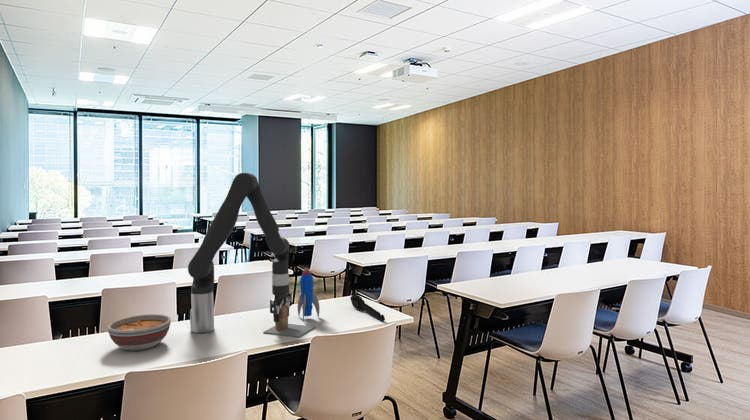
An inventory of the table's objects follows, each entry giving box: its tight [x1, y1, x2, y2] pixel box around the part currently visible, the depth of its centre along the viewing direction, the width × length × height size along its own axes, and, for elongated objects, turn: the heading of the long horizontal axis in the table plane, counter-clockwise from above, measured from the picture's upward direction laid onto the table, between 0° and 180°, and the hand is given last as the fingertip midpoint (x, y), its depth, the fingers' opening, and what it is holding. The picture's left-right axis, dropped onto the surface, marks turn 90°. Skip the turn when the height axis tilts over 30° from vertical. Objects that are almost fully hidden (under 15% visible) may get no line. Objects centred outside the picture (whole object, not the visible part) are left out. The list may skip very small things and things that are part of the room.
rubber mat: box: [262, 323, 316, 338], centre depth 212 cm, size 18×14×1 cm
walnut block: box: [274, 305, 289, 330], centre depth 213 cm, size 4×4×10 cm
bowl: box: [107, 313, 172, 352], centre depth 194 cm, size 23×23×10 cm
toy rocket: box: [297, 266, 320, 322], centre depth 227 cm, size 11×10×25 cm
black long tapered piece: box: [349, 292, 386, 323], centre depth 237 cm, size 35×4×8 cm, turn 28°
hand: (281, 319), depth 213 cm, fingers open, 8 cm apart
